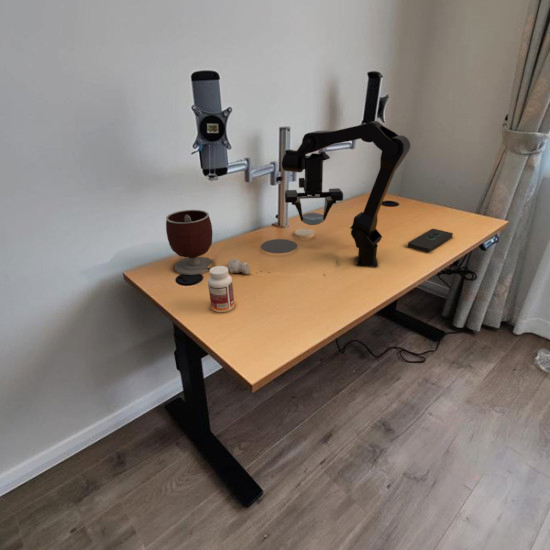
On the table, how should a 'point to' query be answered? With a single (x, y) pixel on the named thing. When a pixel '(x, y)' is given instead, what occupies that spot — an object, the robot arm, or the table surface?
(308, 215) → the blue saucer
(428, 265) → the table surface
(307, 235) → the cream saucer
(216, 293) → the pill bottle
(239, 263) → the pale two-lobed sculpture
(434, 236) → the smart home device
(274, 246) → the charcoal plate
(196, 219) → the mate gourd
